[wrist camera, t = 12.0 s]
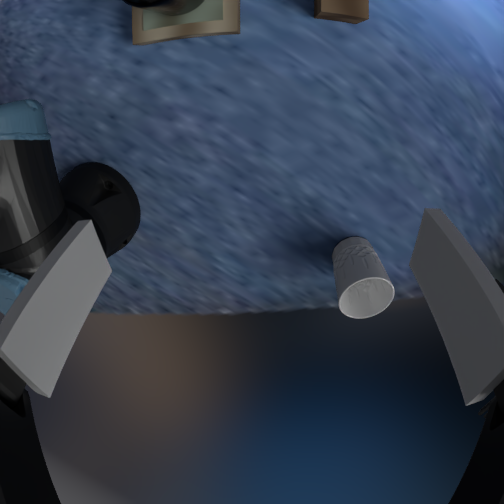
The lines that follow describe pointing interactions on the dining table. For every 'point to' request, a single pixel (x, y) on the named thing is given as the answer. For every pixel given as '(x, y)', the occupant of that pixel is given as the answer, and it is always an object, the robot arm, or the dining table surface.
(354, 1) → the walnut cube
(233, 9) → the plinth
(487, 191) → the dining table surface
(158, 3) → the supplement bottle
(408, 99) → the dining table surface
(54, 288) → the robot arm
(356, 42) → the dining table surface
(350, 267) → the white cup
